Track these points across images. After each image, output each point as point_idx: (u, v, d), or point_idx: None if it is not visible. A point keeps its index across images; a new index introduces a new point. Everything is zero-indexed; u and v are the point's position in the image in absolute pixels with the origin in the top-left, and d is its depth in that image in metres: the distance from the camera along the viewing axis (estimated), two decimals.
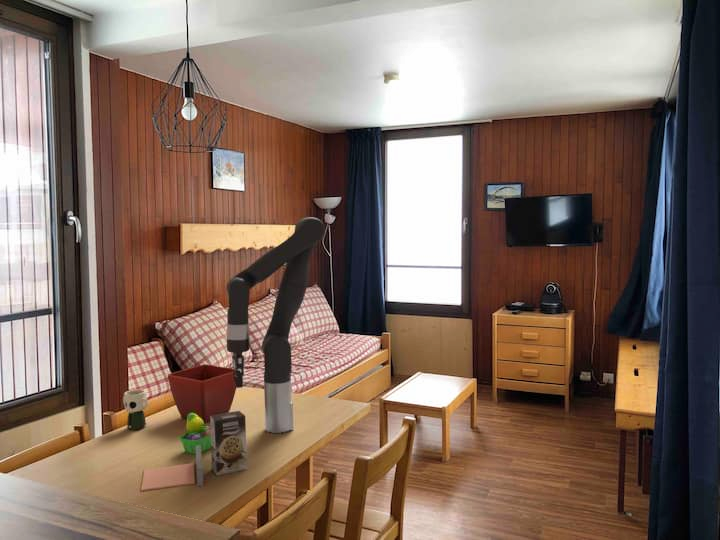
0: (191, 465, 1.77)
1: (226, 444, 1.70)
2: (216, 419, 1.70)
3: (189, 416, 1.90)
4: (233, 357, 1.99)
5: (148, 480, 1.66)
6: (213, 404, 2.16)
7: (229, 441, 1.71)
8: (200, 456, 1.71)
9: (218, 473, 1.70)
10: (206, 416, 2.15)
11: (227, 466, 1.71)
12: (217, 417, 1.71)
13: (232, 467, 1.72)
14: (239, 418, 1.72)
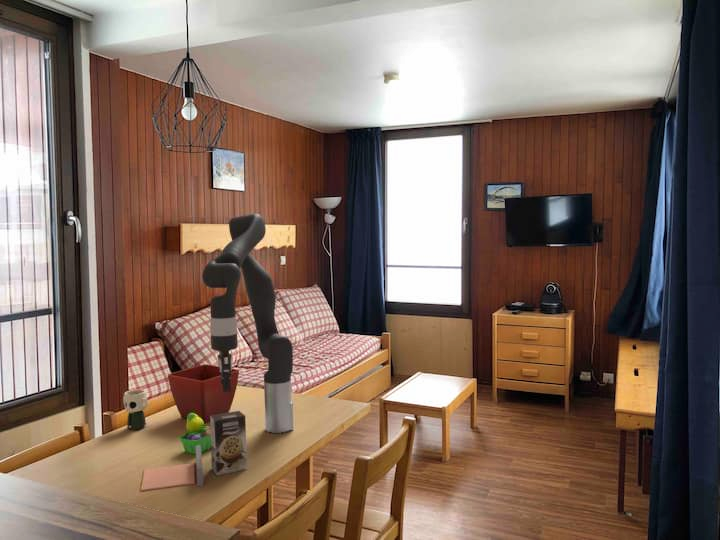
0: (191, 465, 1.77)
1: (226, 444, 1.70)
2: (216, 419, 1.70)
3: (189, 416, 1.90)
4: (219, 356, 1.70)
5: (148, 480, 1.66)
6: (213, 404, 2.16)
7: (229, 441, 1.71)
8: (200, 456, 1.71)
9: (218, 473, 1.70)
10: (206, 416, 2.15)
11: (227, 466, 1.71)
12: (217, 417, 1.71)
13: (232, 467, 1.72)
14: (239, 418, 1.72)
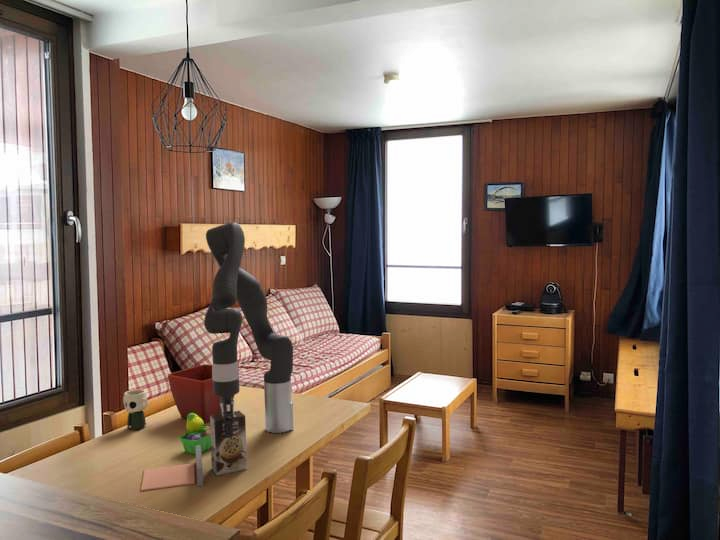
0: (191, 465, 1.77)
1: (226, 444, 1.70)
2: (216, 419, 1.70)
3: (189, 416, 1.90)
4: (221, 401, 1.71)
5: (148, 480, 1.66)
6: (213, 404, 2.16)
7: (229, 441, 1.70)
8: (200, 456, 1.71)
9: (218, 473, 1.70)
10: (206, 416, 2.15)
11: (227, 465, 1.71)
12: (217, 417, 1.71)
13: (232, 467, 1.72)
14: (239, 418, 1.72)
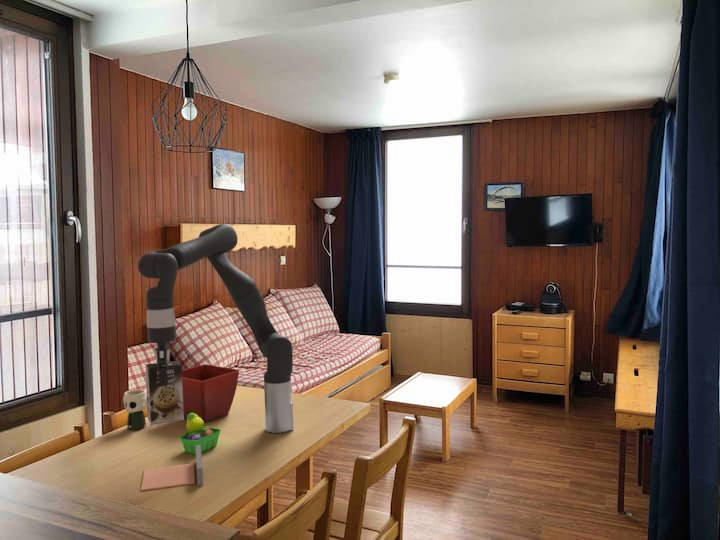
0: (191, 465, 1.77)
1: (160, 393, 1.64)
2: (150, 367, 1.63)
3: (189, 416, 1.90)
4: (156, 349, 1.65)
5: (148, 480, 1.66)
6: (213, 404, 2.16)
7: (164, 390, 1.64)
8: (200, 456, 1.71)
9: (152, 423, 1.64)
10: (206, 416, 2.15)
11: (162, 415, 1.65)
12: (152, 365, 1.65)
13: (168, 417, 1.65)
14: (175, 366, 1.66)
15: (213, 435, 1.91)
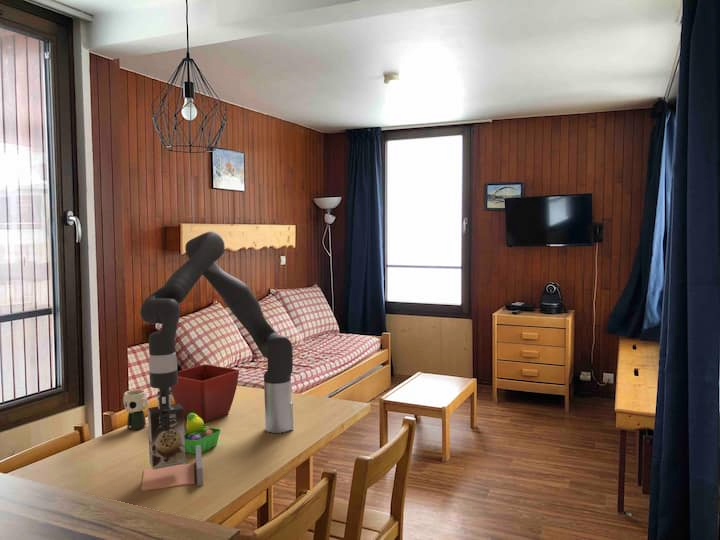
0: (191, 465, 1.77)
1: (162, 437, 1.65)
2: (152, 412, 1.65)
3: (189, 416, 1.90)
4: (158, 394, 1.66)
5: (148, 480, 1.66)
6: (213, 404, 2.16)
7: (166, 434, 1.66)
8: (200, 456, 1.71)
9: (154, 467, 1.65)
10: (206, 416, 2.15)
11: (164, 460, 1.66)
12: (154, 410, 1.66)
13: (170, 461, 1.67)
14: (177, 411, 1.67)
15: (214, 435, 1.91)
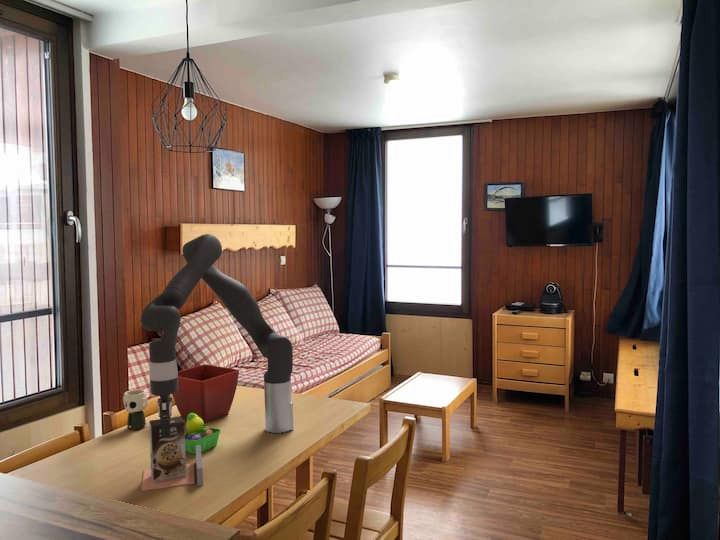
0: (191, 465, 1.77)
1: (163, 450, 1.65)
2: (153, 425, 1.65)
3: (189, 416, 1.90)
4: (158, 401, 1.66)
5: (148, 480, 1.66)
6: (213, 404, 2.16)
7: (167, 447, 1.65)
8: (200, 456, 1.71)
9: (155, 480, 1.65)
10: (206, 416, 2.15)
11: (165, 473, 1.66)
12: (155, 423, 1.66)
13: (170, 474, 1.66)
14: (177, 424, 1.66)
15: (213, 435, 1.91)
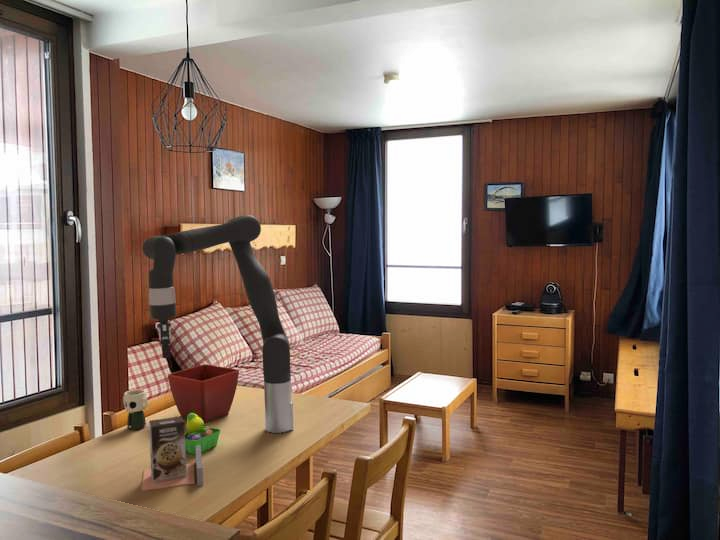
0: (191, 465, 1.77)
1: (163, 450, 1.65)
2: (153, 425, 1.65)
3: (189, 416, 1.90)
4: (158, 325, 1.79)
5: (148, 480, 1.66)
6: (213, 404, 2.16)
7: (167, 447, 1.65)
8: (200, 456, 1.71)
9: (155, 480, 1.65)
10: (206, 416, 2.15)
11: (165, 473, 1.66)
12: (155, 423, 1.66)
13: (170, 474, 1.66)
14: (177, 424, 1.66)
15: (213, 435, 1.91)
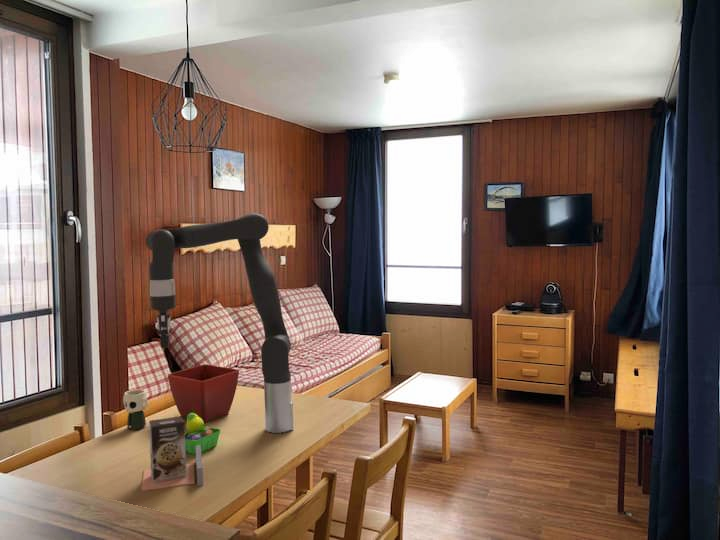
0: (191, 465, 1.77)
1: (163, 450, 1.65)
2: (153, 425, 1.65)
3: (189, 416, 1.90)
4: (157, 315, 1.84)
5: (148, 480, 1.66)
6: (213, 404, 2.16)
7: (167, 447, 1.65)
8: (200, 456, 1.71)
9: (155, 480, 1.65)
10: (206, 416, 2.15)
11: (165, 473, 1.66)
12: (155, 423, 1.66)
13: (170, 474, 1.66)
14: (177, 424, 1.66)
15: (213, 435, 1.91)
